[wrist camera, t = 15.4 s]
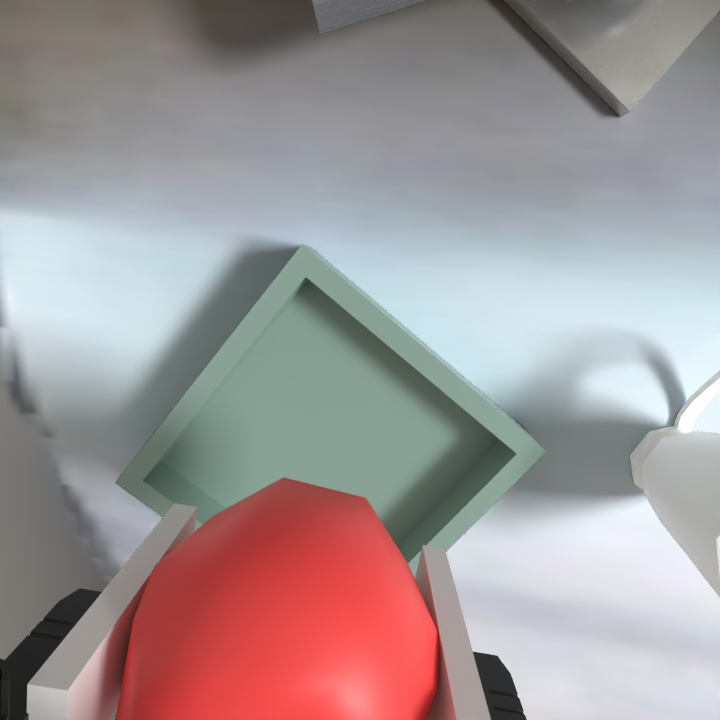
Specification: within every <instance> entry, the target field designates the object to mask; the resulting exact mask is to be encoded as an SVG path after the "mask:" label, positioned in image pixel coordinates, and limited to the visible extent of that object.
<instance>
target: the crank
mask: <svg viewBox="0 0 720 720" xmlns="http://www.w3.org/2000/svg"><path fill="white" fill-rule="evenodd" d="M423 1H426V0H311V2H312V6H313V10H314V14H315V18H316V21H317V25H318V29H319V33H320V34H323V33H326V32H329V31H332V30H336V29H339V28H342V27H345V26H348V25H351V24H354V23H357V22H361V21H364V20H367V19H370V18H373V17H376V16H379V15H382V14H386V13H389V12H392V11H395V10H398V9H401V8H404V7H407V6H411V5H414V4H417V3H420V2H423Z"/></svg>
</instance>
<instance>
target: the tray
mask: <svg viewBox="0 0 720 720" xmlns="http://www.w3.org/2000/svg"><path fill="white" fill-rule="evenodd" d="M546 452H547V451H546V450H545V449H544V448H543V447H542V446H541V445H540V444H539V443H538V442H537V441H536V440H535V439H534V438H533V437H532V436H531V434H530V433H529V432H528V431H527V430H526V429H525V428H524V427H522V426H521V425H520V424H519V423H518V422H516V421H515V420H514V419H513V418H512V417H511V416H509V415H508V414H507V413H506V412H505V411H504V410H502V409H501V408H500V407H499V406H498V405H496V404H495V403H494V402H493V401H492V400H491V399H489V398H488V397H487V396H486V395H485V394H484V393H482V392H481V391H480V390H479V389H478V388H476V387H475V386H474V385H473V384H472V383H471V382H469V381H468V380H467V379H466V378H465V377H464V376H462V375H461V374H460V373H459V372H458V371H456V370H455V369H454V368H453V367H452V366H451V365H449V364H448V363H447V362H446V361H445V360H444V359H442V358H441V357H440V356H439V355H438V354H436V353H435V352H434V351H433V350H432V349H431V348H429V347H428V346H427V345H426V344H425V343H424V342H422V341H421V340H420V339H419V338H418V337H416V336H415V335H414V334H413V333H412V332H411V331H409V330H408V329H407V328H406V327H405V326H404V325H402V324H401V323H400V322H399V321H398V320H396V319H395V318H394V317H393V316H392V315H391V314H389V313H388V312H387V311H386V310H385V309H384V308H382V307H381V306H380V305H379V304H378V303H376V302H375V301H374V300H373V299H372V298H371V297H369V296H368V295H367V294H366V293H365V292H364V291H362V290H361V289H360V288H359V287H358V286H356V285H355V284H354V283H353V282H352V281H351V280H349V279H348V278H347V277H346V276H345V275H344V274H342V273H341V272H340V271H339V270H338V269H336V268H335V267H334V266H333V265H332V264H331V263H329V262H328V261H327V260H326V259H325V258H324V257H322V256H321V255H320V254H319V253H318V252H316V251H315V250H314V249H313V248H312V247H310V246H307V245H303V244H302V245H301V246H300V247H299V249H298V250H297V251H296V252H295V254H294V255H293V256H292V258H291V259H290V260H289V261H288V263H287V264H286V265H285V267H284V268H283V269H282V270H281V272H280V273H279V274H278V275H277V277H276V278H275V279H274V281H273V282H272V283H271V284H270V286H269V287H268V288H267V289H266V291H265V292H264V293H263V295H262V296H261V297H260V298H259V300H258V301H257V302H256V303H255V305H254V306H253V307H252V309H251V310H250V311H249V312H248V314H247V315H246V316H245V318H244V319H243V320H242V321H241V323H240V324H239V325H238V326H237V328H236V329H235V330H234V332H233V333H232V334H231V335H230V337H229V338H228V339H227V340H226V342H225V343H224V344H223V346H222V347H221V348H220V349H219V351H218V352H217V353H216V354H215V356H214V357H213V358H212V360H211V361H210V362H209V363H208V365H207V366H206V367H205V369H204V370H203V371H202V372H201V374H200V375H199V376H198V377H197V379H196V380H195V381H194V383H193V384H192V385H191V386H190V388H189V389H188V390H187V391H186V393H185V394H184V395H183V397H182V398H181V399H180V400H179V402H178V403H177V404H176V405H175V407H174V408H173V409H172V411H171V412H170V413H169V414H168V416H167V417H166V418H165V420H164V421H163V422H162V423H161V425H160V426H159V427H158V428H157V430H156V431H155V432H154V434H153V435H152V436H151V437H150V439H149V440H148V441H147V442H146V444H145V445H144V446H143V448H142V449H141V450H140V451H139V453H138V454H137V455H136V456H135V458H134V459H133V460H132V462H131V463H130V464H129V465H128V467H127V468H126V469H125V471H124V472H123V473H122V474H121V476H120V477H119V478H118V479H117V481H116V482H115V483H116V484H118V485H119V486H120V487H122V488H123V489H124V490H126V491H127V492H129V493H130V494H131V495H133V496H134V497H136V498H137V499H138V500H140V501H141V502H142V503H144V504H145V505H147V506H148V507H149V508H151V509H152V510H153V511H155V512H156V513H158V514H159V515H160V516H162V517H164V516H165V514H166V513H167V512H168V511H169V509H170V508H171V507H172V506H173V505H174V503H177V504H183V505H189V506H194V507H197V514H196V523H195V531H196V530H197V529H198V528H199V527H201V526H202V525H203V524H204V523H205V522H206V521H208V520H209V519H210V518H211V517H212V516H214V515H215V514H217V513H219V512H221V511H223V510H225V509H226V508H228V507H230V506H232V505H234V504H235V503H237V502H239V501H241V500H243V499H245V498H246V497H248V496H250V495H252V494H254V493H256V492H257V491H259V490H261V489H263V488H265V487H266V486H268V485H270V484H272V483H274V482H276V481H277V480H279V479H281V478H283V477H285V478H289V479H293V480H297V481H301V482H305V483H309V484H313V485H317V486H321V487H325V488H329V489H333V490H337V491H341V492H345V493H349V494H353V495H357V496H361V497H365V498H367V500H368V501H369V503H370V505H371V506H372V508H373V509H374V511H375V513H376V514H377V516H378V517H379V519H380V520H381V522H382V524H383V525H384V527H385V528H386V530H387V532H388V533H389V535H390V536H391V538H392V539H393V541H394V543H395V544H396V546H397V547H398V549H399V550H400V552H401V554H402V555H403V557H404V558H405V560H406V562H407V563H408V565H409V567H410V570H411V572H412V574H413V576H414V579H415V576H416V571H417V567H418V563H419V558H420V554H421V550H422V545H425V546H431V547H437V548H443V549H445V551H447V550H448V549H449V548H450V547H451V546H452V545H453V544H454V543H455V542H456V541H457V540H458V539H459V538H460V537H461V536H463V535H464V534H465V533H466V532H467V531H468V530H469V529H470V528H471V527H472V526H473V525H474V524H475V523H476V522H477V521H478V520H479V519H480V518H481V517H482V516H483V515H484V514H485V513H486V512H487V511H488V510H489V509H490V508H491V507H492V506H493V505H494V504H495V503H496V502H497V501H498V500H499V499H500V498H501V497H502V496H503V495H504V494H505V493H506V492H507V491H508V490H509V489H510V488H511V487H512V486H513V485H514V484H515V483H516V482H517V481H518V480H519V479H520V478H521V477H522V476H523V475H524V474H525V473H526V472H527V471H528V470H529V469H530V468H531V467H532V466H533V465H534V464H535V463H536V462H537V461H538V460H539V459H540V458H541V457H542V456H543V455H544V454H545V453H546Z"/></svg>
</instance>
